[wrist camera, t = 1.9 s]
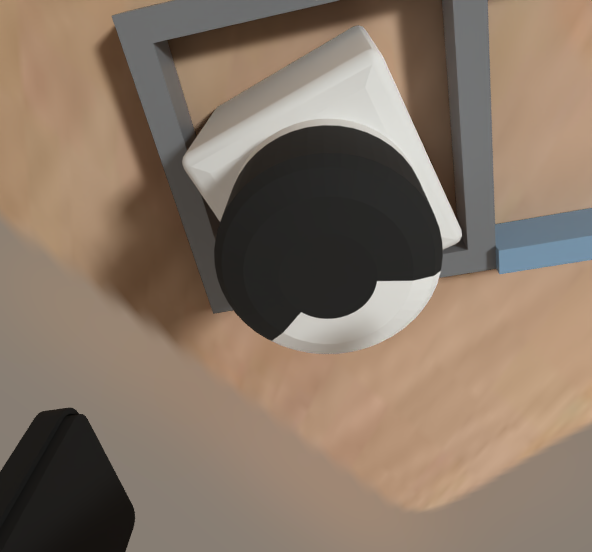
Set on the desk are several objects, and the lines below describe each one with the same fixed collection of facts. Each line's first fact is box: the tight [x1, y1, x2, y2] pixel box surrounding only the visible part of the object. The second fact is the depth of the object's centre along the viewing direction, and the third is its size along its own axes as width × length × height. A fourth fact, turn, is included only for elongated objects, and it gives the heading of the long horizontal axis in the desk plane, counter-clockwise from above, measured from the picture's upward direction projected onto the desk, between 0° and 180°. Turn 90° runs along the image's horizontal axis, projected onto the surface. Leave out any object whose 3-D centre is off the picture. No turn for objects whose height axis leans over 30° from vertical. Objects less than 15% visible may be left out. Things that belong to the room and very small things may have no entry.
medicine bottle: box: [182, 25, 462, 354], centre depth 19 cm, size 7×7×12 cm
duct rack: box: [112, 0, 592, 314], centre depth 22 cm, size 13×26×2 cm, turn 102°
